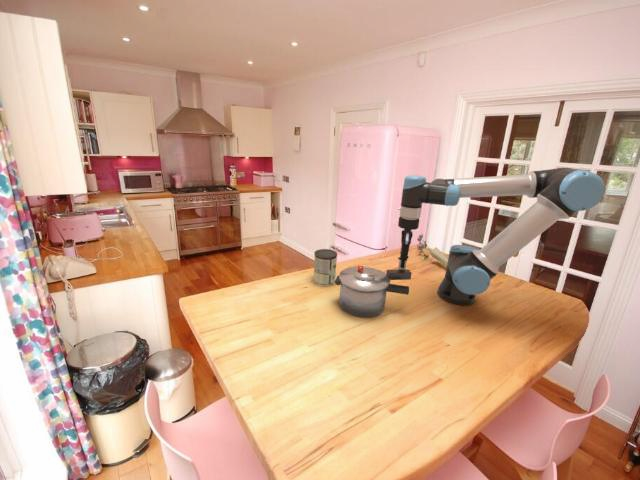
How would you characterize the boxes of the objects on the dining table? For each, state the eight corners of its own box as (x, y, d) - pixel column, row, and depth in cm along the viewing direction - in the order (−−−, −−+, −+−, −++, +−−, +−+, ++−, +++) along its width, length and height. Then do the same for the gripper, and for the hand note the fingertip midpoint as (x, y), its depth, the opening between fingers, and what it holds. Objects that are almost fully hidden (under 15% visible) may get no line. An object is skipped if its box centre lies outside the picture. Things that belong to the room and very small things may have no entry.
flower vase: (448, 288, 153) (406, 251, 180) (467, 279, 156) (423, 244, 183) (451, 272, 146) (406, 236, 173) (470, 263, 149) (424, 229, 176)
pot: (330, 312, 114) (332, 286, 110) (338, 290, 131) (340, 267, 127) (405, 325, 108) (410, 298, 105) (404, 300, 125) (408, 277, 121)
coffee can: (314, 275, 144) (315, 248, 139) (335, 277, 143) (337, 249, 139) (311, 285, 134) (313, 256, 130) (334, 287, 133) (336, 258, 129)
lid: (344, 293, 106) (345, 280, 104) (335, 269, 124) (335, 258, 123) (419, 291, 110) (421, 279, 108) (399, 269, 128) (401, 258, 126)
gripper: (399, 212, 120) (392, 266, 127) (399, 220, 108) (391, 279, 116) (418, 214, 118) (410, 268, 126) (420, 222, 106) (411, 282, 114)
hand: (401, 273), depth 121 cm, fingers closed
